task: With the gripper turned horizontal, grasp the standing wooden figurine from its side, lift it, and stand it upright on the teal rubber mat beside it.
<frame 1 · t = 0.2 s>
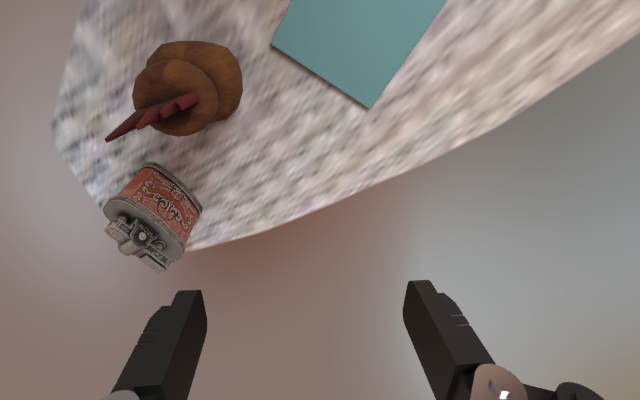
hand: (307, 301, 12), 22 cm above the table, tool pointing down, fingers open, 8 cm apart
mat: (360, 14, 26), on the table
wooden figurine: (211, 72, 28), on the table
lighter: (173, 190, 34), on the table
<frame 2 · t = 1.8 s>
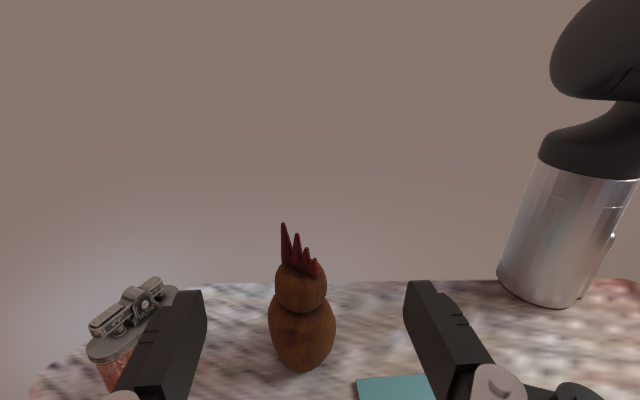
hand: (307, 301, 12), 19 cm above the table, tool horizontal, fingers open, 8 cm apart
wooden figurine: (301, 353, 31), on the table
lighter: (157, 373, 29), on the table
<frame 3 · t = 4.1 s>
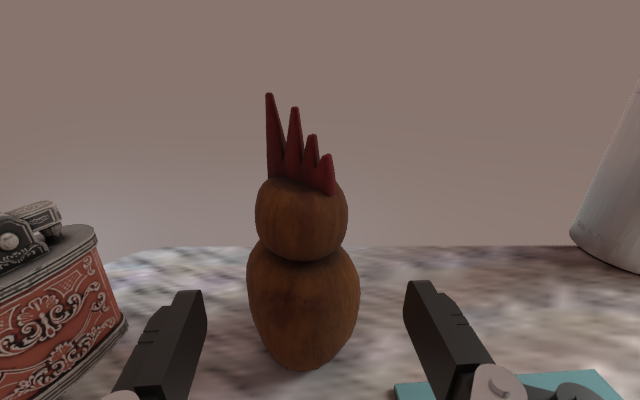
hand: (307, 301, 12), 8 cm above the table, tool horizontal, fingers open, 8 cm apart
wooden figurine: (301, 342, 20), on the table
lighter: (59, 372, 17), on the table
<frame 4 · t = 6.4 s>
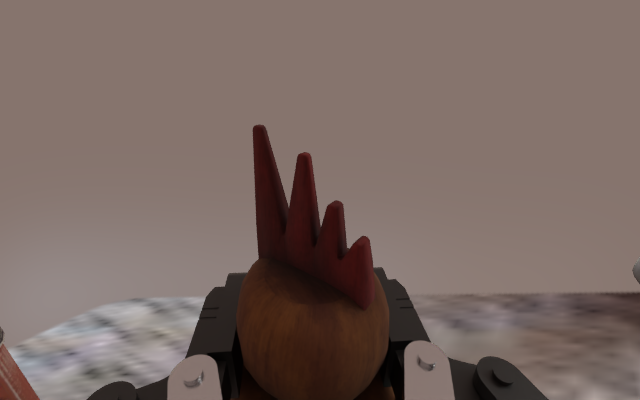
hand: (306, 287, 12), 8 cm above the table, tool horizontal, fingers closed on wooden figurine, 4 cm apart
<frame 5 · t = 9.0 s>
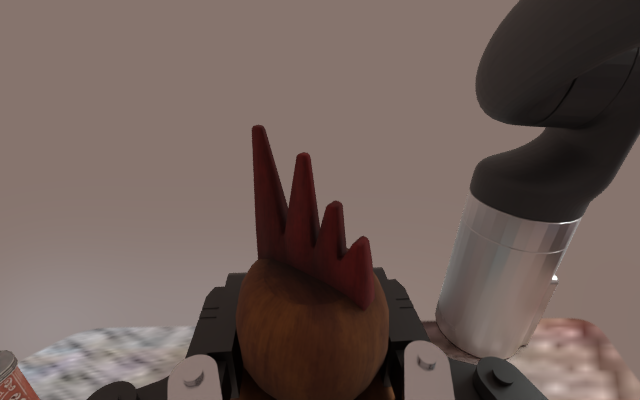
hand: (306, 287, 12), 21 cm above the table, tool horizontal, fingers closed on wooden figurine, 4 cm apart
when the fingers open (10 cm above the table, at t = 11.6 s): wooden figurine drops 1 cm, resting on mat.
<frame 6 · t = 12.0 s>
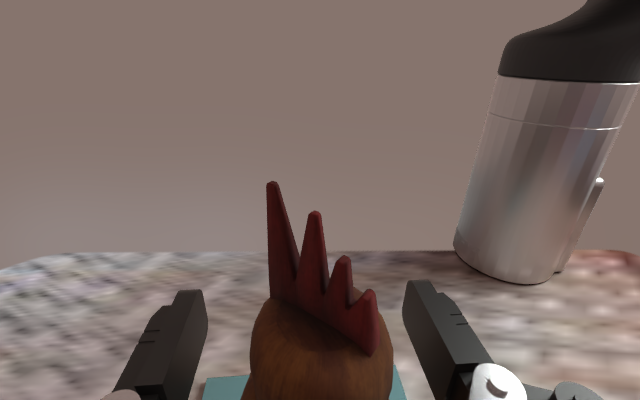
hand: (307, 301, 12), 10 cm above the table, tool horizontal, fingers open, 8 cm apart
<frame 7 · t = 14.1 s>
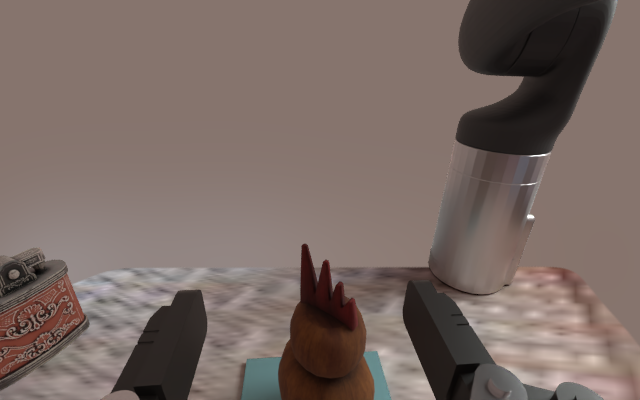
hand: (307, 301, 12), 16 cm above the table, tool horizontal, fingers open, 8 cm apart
lighter: (42, 352, 28), on the table
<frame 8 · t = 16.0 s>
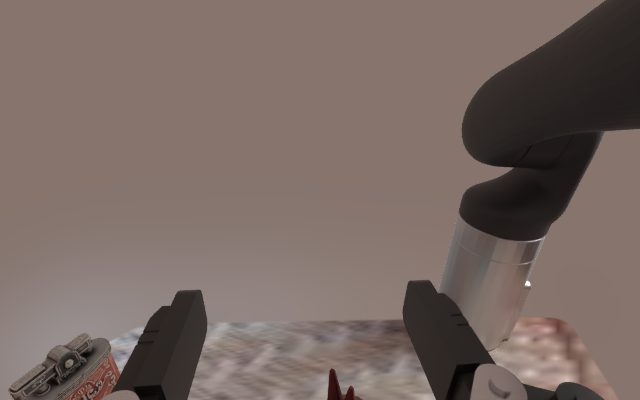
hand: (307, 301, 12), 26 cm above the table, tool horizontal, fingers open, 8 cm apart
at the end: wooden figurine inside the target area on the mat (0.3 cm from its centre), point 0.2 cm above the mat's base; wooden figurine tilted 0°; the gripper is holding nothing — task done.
